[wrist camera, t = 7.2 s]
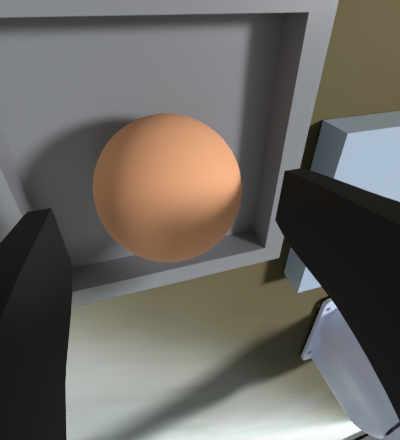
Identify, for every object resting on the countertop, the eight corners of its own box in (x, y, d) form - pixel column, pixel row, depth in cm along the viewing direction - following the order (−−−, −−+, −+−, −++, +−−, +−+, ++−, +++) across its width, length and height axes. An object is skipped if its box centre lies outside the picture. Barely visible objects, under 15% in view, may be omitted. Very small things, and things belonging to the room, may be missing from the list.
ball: (213, 198, 14) (260, 272, 11) (107, 219, 13) (116, 310, 10) (213, 87, 11) (279, 137, 8) (74, 103, 10) (69, 170, 6)
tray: (259, 231, 18) (279, 257, 16) (44, 277, 15) (40, 315, 13) (302, -27, 11) (345, -29, 9) (-101, -34, 8) (-151, -40, 6)
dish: (405, 242, 24) (424, 257, 23) (283, 273, 21) (297, 292, 20) (485, 100, 17) (520, 110, 16) (323, 120, 15) (347, 133, 13)
